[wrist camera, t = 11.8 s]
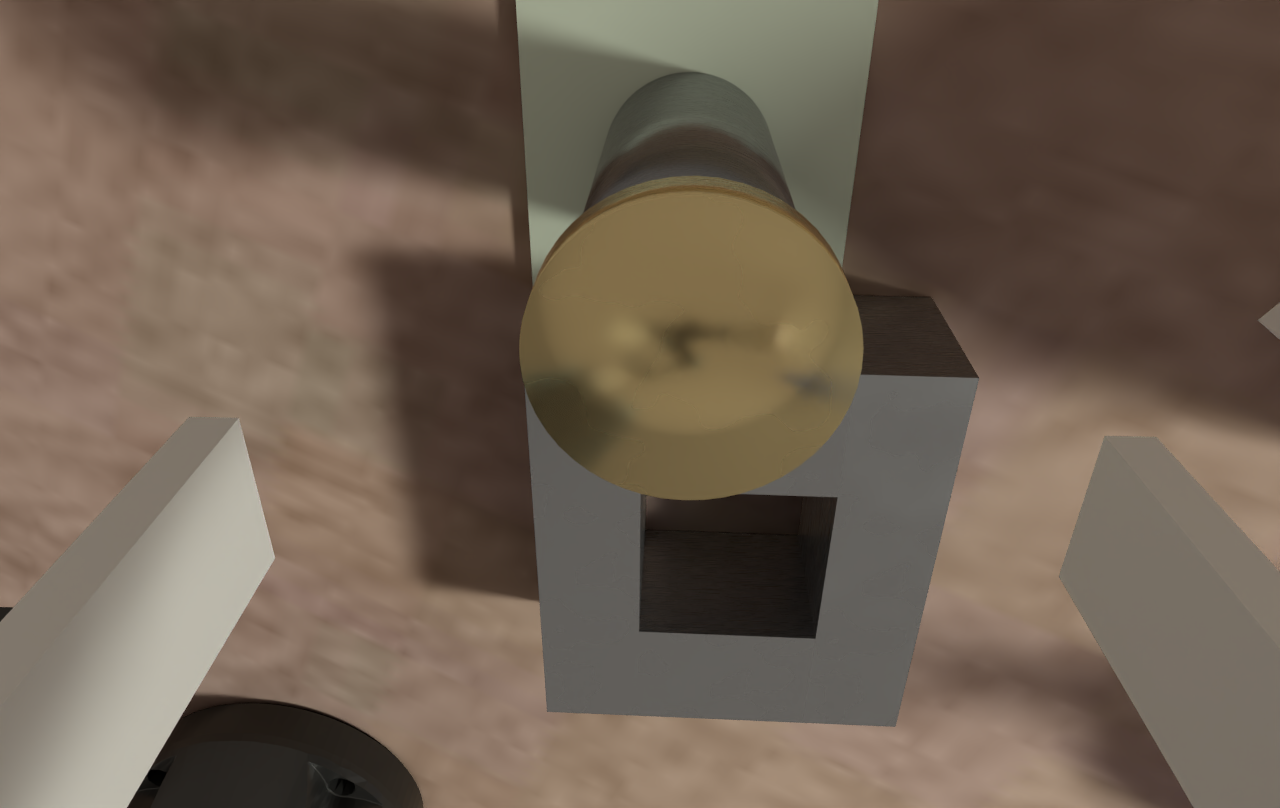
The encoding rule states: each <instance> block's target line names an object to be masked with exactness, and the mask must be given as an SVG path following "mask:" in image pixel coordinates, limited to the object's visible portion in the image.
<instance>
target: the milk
mask: <svg viewBox="0 0 1280 808" xmlns="http://www.w3.org/2000/svg"><path fill="white" fill-rule="evenodd" d="M1258 321H1259V322H1260V323H1261V324H1262V325H1264V326H1265V327H1266V328H1267V329H1268V330H1269V331H1270V332H1271V333H1273V334H1274V335H1275V336H1276V337H1277V338H1278V339H1279V340H1280V302H1279V303H1278V304H1277V305H1276V306H1275V307H1273V308H1272V309H1271V310H1270V311H1268V312H1267V313H1266V314H1265V315H1263V316H1262V317H1261V318H1260V319H1258Z"/></svg>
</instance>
